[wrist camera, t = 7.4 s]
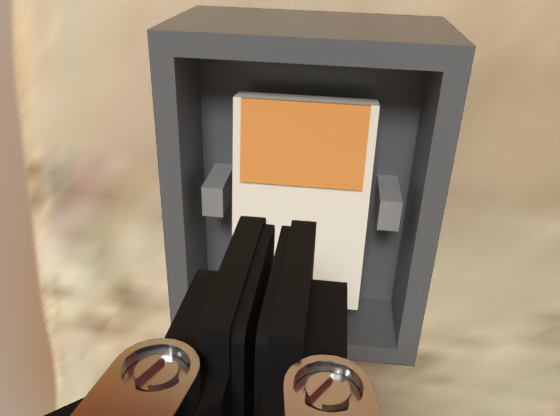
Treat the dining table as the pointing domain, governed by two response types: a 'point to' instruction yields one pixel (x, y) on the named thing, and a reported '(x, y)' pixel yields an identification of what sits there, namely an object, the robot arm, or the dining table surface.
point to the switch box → (316, 82)
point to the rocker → (308, 173)
